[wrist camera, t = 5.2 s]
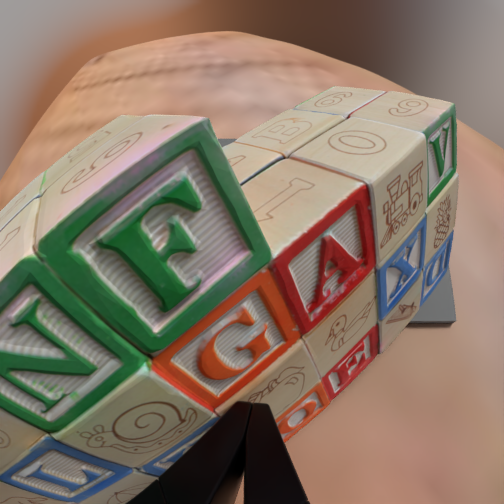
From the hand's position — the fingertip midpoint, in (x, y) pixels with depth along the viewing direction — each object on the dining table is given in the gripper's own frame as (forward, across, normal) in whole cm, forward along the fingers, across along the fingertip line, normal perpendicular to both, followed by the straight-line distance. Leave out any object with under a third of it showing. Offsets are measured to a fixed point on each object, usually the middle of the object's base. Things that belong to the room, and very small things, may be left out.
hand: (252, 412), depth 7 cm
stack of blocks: (+6, 0, +4) cm, 7 cm away
